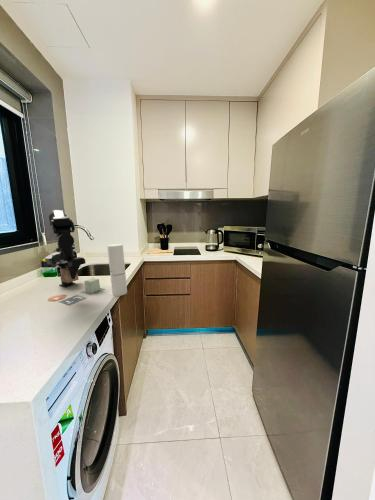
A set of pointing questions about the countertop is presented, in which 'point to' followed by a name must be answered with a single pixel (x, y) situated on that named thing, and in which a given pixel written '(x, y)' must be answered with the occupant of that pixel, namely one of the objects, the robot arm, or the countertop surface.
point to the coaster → (57, 297)
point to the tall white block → (117, 269)
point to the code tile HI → (92, 293)
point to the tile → (72, 300)
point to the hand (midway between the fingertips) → (70, 278)
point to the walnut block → (67, 275)
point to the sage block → (92, 285)
